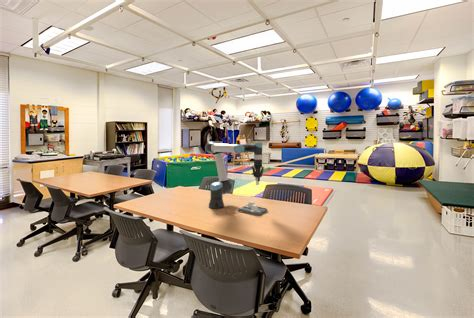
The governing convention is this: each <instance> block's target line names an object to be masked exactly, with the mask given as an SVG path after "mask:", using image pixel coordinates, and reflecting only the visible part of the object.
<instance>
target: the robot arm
mask: <svg viewBox="0 0 474 318" xmlns="http://www.w3.org/2000/svg"><path fill="white" fill-rule="evenodd" d="M204 147H205V148H204V149H205V151H206V152H207V153H208V154H212V157H214V160H215V165H216V169H217V176H218V179H219V180H218V181H214V182H212V183H211V184H210V188H209V189H210V199H209V203H208V208H209V209H214V210H216V209H217V210H219V209H224V208H225V203H224V200H223V195H226V194H229V193H232V191H233V188H234V185H233V182H232V181H230V179H229V177H228V174H227V168H226V165H225V160H224V153H236V154H245V153H253V165H252V166H251V169H252V175H253V177H254V178H255V185H256V186H260V181H261V178H262V177H263V173H264V169H265V166H263V165H262V164H263V143H262V142H261V141H258V142H254V143H252V144H251V143H249V144H248V143H244V144H240V143H239V144H237V143H235V144H233V143H231V144H229V143H223V142H222V141H219V140H216V141H208V142H207V143H206V144H205V146H204Z"/></svg>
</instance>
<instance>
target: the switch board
mask: <svg viewBox="0 0 474 318" xmlns="http://www.w3.org/2000/svg"><path fill="white" fill-rule="evenodd" d="M237 211H238V212H240V213H244V214H249V215H254V216H257V217H259V216H260V215H263V214H265V213H267V212H268V209H267V207H263V206H258V211H251V208H250V207H248V204H247V205H243V206H242V207H238V208H237Z"/></svg>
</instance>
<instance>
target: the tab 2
mask: <svg viewBox="0 0 474 318" xmlns="http://www.w3.org/2000/svg"><path fill="white" fill-rule="evenodd" d="M258 207H259V205H257V204H255V203H254V205H252V207H251V211H258Z"/></svg>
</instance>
